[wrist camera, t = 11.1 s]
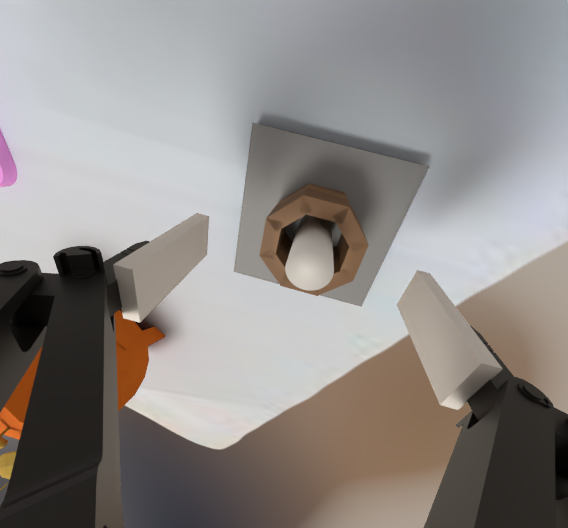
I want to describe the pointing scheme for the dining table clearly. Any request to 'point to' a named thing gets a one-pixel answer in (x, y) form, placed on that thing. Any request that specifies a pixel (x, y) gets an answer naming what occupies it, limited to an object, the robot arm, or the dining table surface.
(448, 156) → the dining table surface
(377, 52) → the dining table surface
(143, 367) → the alarm clock
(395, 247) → the dining table surface
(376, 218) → the post
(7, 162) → the bracket
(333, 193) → the collar
